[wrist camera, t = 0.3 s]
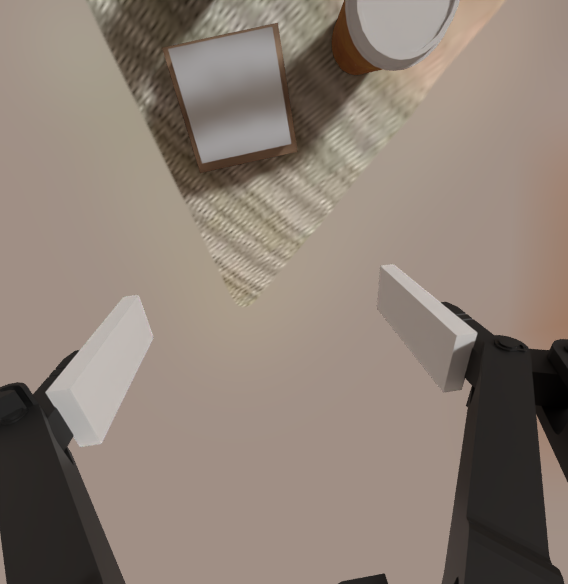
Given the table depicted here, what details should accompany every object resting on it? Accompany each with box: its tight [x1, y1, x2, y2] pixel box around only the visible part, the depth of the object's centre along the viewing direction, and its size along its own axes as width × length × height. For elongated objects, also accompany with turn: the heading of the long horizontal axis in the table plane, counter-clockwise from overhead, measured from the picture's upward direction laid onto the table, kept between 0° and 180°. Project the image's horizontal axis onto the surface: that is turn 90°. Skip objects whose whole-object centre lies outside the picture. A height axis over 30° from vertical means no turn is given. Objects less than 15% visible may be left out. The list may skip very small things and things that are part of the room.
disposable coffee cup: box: [332, 0, 460, 75], centre depth 28 cm, size 10×10×12 cm
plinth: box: [162, 23, 298, 173], centre depth 32 cm, size 12×12×6 cm
